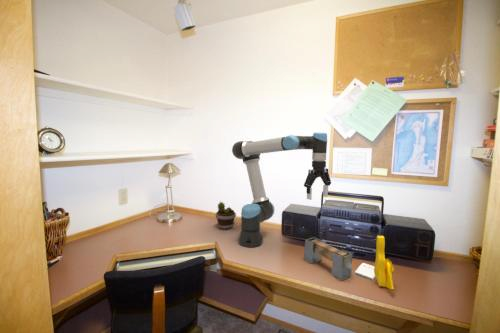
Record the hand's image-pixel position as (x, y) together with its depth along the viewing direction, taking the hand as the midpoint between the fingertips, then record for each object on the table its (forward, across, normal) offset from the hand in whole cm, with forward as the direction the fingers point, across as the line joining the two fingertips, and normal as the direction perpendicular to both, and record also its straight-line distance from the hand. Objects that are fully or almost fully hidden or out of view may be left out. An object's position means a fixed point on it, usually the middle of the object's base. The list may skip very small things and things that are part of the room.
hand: (317, 197), depth 133 cm
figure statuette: (+32, +1, -38) cm, 50 cm away
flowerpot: (+32, -26, +61) cm, 74 cm away
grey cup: (+32, -9, -23) cm, 40 cm away
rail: (+26, -9, -15) cm, 31 cm away
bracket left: (+32, -9, -7) cm, 34 cm away
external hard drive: (+32, +4, -29) cm, 44 cm away
